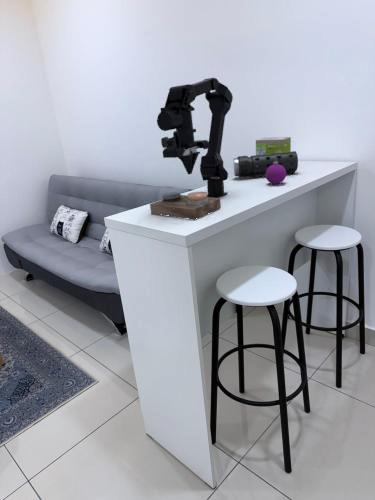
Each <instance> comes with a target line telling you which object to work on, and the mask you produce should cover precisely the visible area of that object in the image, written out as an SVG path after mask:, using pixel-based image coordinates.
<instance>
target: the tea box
mask: <svg viewBox="0 0 375 500" xmlns="http://www.w3.org/2000/svg"><path fill="white" fill-rule="evenodd" d="M291 138H292V137H291V136H282V137H281V136H280V137H263V138H259V139H255V155H266V154H273V153H285V152H292V149H291V148H292V147H291V146H292V145H291V142H292V139H291Z"/></svg>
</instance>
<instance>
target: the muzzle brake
mask: <svg viewBox="0 0 375 500" xmlns="http://www.w3.org/2000/svg"><path fill="white" fill-rule="evenodd" d="M274 160H275V162H278V165H282V166H283V167H284V168H285V170H286V175H288V174H295V173H296V172H297V170H298V167H299V158H298V153H297V151H294V150H293V151H292V150H291V152H285V153H273V154H266V155H256V154H255V155H250V156H248V155H240V156H237V157H234V158H233V175H234V177H238V178H248V179H251V178H253V179H255V178H256V177H257V176H258V177H259V176H266V171H267V169H268V167H270V166H271V165H274V164H273V162H274ZM276 160H277V161H276Z"/></svg>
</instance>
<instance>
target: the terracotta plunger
mask: <svg viewBox="0 0 375 500" xmlns="http://www.w3.org/2000/svg"><path fill="white" fill-rule="evenodd" d="M207 194H208V192H207V191H195V192H194V191H193V192H190V193H188V194H187V195H188V200H187V201H188V205H196V206H200V205H203V204H205V203H208V197H207Z"/></svg>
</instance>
